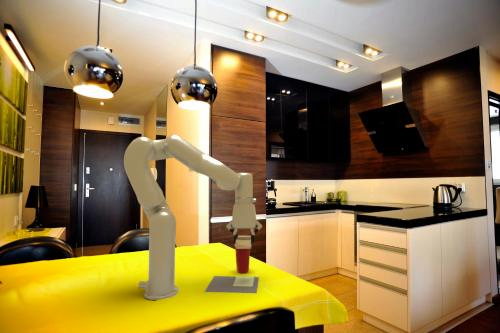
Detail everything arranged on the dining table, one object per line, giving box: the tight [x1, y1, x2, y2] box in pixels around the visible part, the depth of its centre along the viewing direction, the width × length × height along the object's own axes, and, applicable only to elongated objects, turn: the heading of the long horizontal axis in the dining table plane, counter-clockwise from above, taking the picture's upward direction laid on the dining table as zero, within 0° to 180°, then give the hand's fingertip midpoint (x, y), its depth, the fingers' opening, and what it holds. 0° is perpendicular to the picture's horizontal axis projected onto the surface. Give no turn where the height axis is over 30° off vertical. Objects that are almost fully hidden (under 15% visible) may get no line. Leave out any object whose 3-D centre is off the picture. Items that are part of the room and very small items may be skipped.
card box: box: [236, 235, 253, 250], centre depth 116 cm, size 9×6×4 cm, turn 175°
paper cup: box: [234, 244, 251, 275], centre depth 128 cm, size 8×8×14 cm
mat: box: [204, 275, 260, 294], centre depth 112 cm, size 20×18×1 cm
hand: (244, 243), depth 116 cm, fingers closed on card box, 6 cm apart
